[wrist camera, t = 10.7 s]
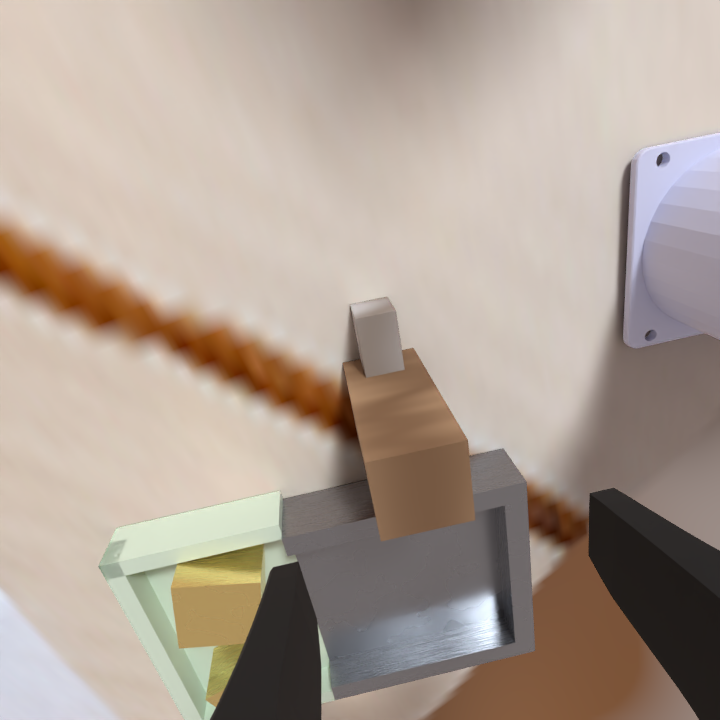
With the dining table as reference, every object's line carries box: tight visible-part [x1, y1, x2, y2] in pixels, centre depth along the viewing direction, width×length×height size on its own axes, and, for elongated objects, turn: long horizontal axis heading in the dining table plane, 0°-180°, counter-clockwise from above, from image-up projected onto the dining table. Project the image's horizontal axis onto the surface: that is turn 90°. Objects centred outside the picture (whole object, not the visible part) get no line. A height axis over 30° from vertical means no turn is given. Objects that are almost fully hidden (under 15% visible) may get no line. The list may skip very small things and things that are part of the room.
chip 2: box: [205, 644, 244, 707], centre depth 24 cm, size 4×4×2 cm
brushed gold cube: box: [171, 544, 266, 649], centre depth 21 cm, size 4×4×2 cm
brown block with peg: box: [343, 297, 475, 541], centre depth 18 cm, size 3×8×7 cm, turn 10°
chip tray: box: [98, 491, 335, 720], centre depth 24 cm, size 8×12×2 cm, turn 11°
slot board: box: [281, 449, 535, 700], centre depth 24 cm, size 10×11×2 cm
